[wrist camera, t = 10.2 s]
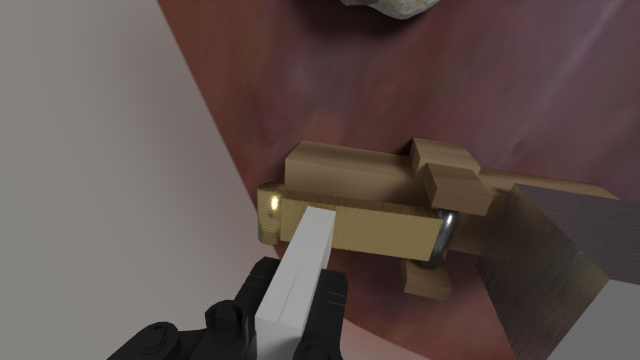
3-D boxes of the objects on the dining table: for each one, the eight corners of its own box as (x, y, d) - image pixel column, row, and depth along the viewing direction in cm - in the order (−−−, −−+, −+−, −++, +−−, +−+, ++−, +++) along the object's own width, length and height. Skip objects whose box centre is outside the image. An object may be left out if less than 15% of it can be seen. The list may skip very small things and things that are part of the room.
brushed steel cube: (514, 182, 15) (610, 279, 8) (662, 206, 14) (893, 334, 8) (475, 265, 17) (527, 383, 11) (597, 289, 16) (727, 434, 10)
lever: (454, 198, 15) (262, 174, 15) (465, 215, 13) (253, 187, 14) (433, 255, 16) (262, 231, 17) (441, 275, 15) (254, 248, 15)
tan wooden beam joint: (303, 121, 20) (266, 155, 13) (610, 165, 17) (747, 235, 11) (298, 204, 23) (266, 263, 17) (555, 253, 20) (634, 347, 14)
